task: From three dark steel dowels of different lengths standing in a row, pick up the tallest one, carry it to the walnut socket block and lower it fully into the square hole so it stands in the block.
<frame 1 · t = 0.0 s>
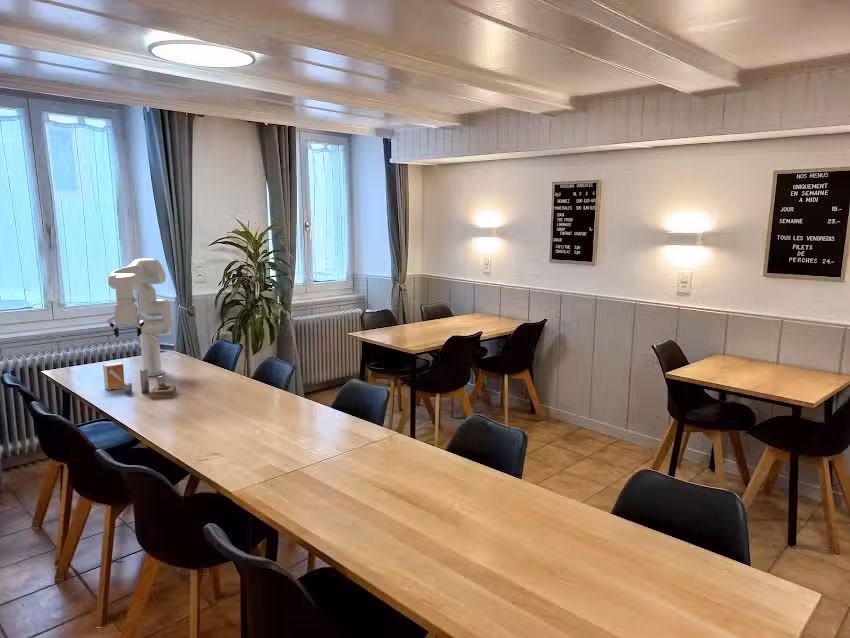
hand: (128, 336, 281), 31 cm above the table, tool pointing down, fingers open, 9 cm apart
medium pin: (162, 391, 298), on the table
short pin: (128, 393, 294), on the table
long pin: (145, 392, 296), on the table
socket block: (164, 395, 291), on the table
small box: (115, 388, 302), on the table
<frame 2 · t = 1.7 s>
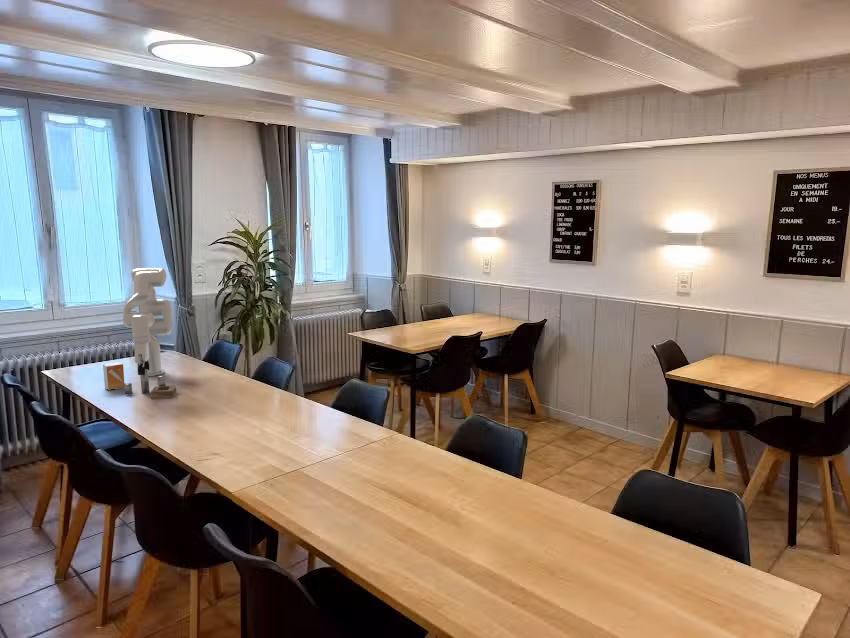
hand: (143, 372, 293), 11 cm above the table, tool pointing down, fingers open, 9 cm apart
nothing on the table moved.
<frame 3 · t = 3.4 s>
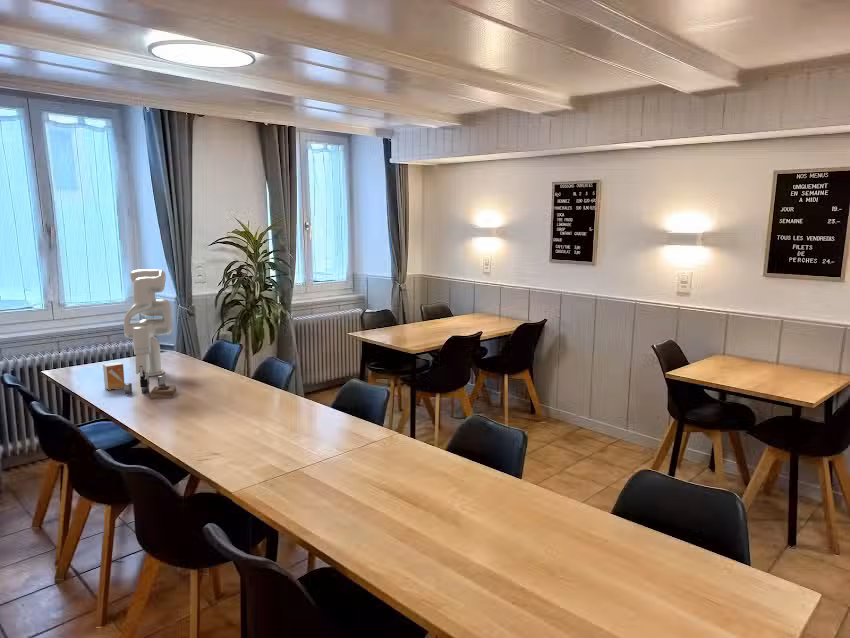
hand: (145, 385, 295), 4 cm above the table, tool pointing down, fingers closed on long pin, 3 cm apart
long pin: (145, 392, 296), on the table, touching gripper
everything else where it was.
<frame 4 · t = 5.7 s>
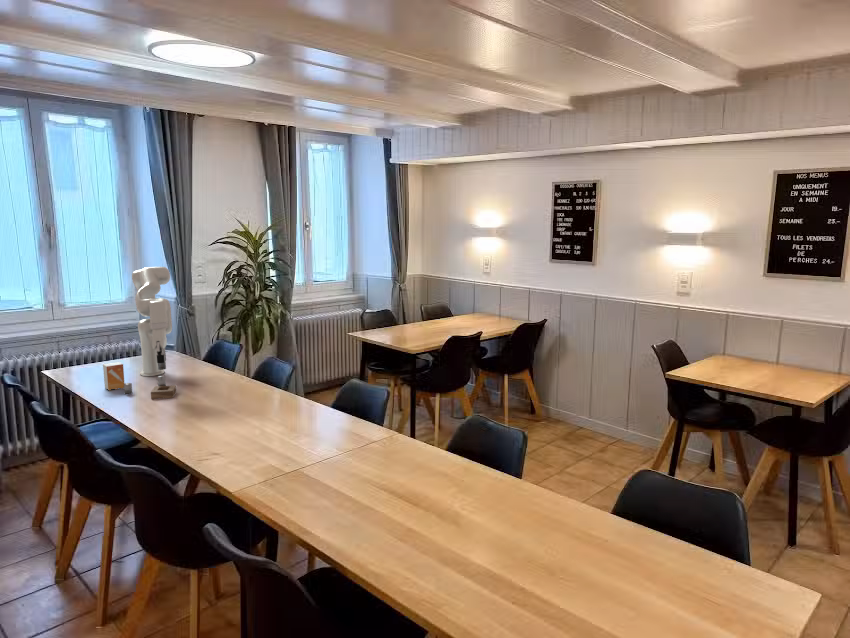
hand: (161, 361, 288), 18 cm above the table, tool pointing down, fingers closed on long pin, 3 cm apart
long pin: (162, 368, 289), point 14 cm above the table, touching gripper
everything else where it was.
when the fingers open (4 cm above the table, at t = 8.3 s): long pin stays where it is, resting in socket block.
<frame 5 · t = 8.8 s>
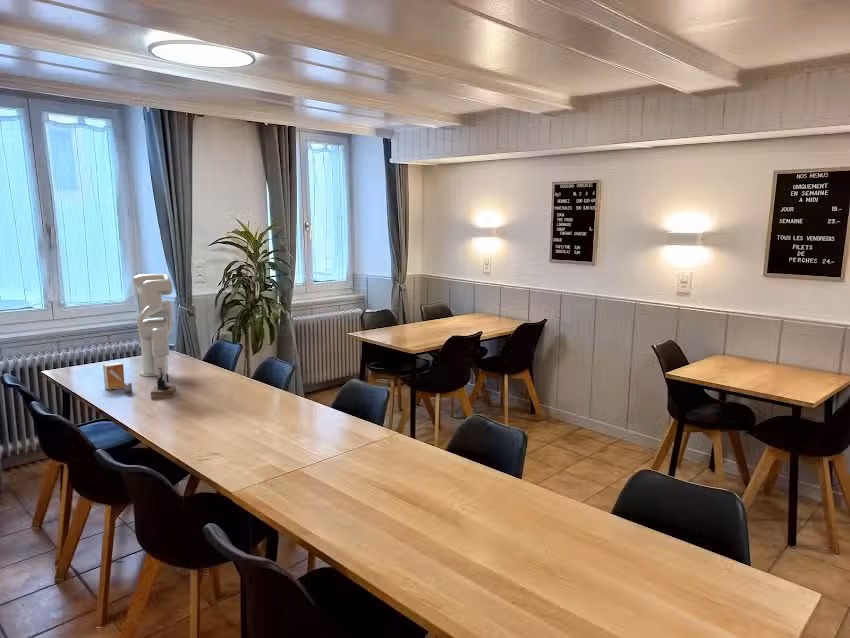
hand: (163, 385, 290), 5 cm above the table, tool pointing down, fingers open, 9 cm apart
medium pin: (162, 391, 297), on the table, tilted 6°
long pin: (163, 395, 291), resting in socket block
everything else where it was.
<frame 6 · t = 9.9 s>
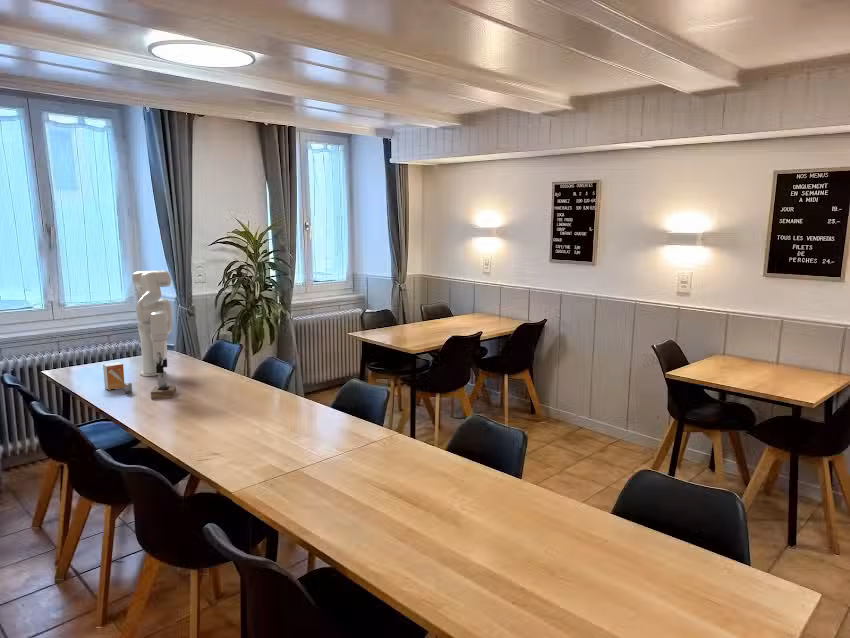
hand: (162, 370, 290), 13 cm above the table, tool pointing down, fingers open, 9 cm apart
nothing on the table moved.
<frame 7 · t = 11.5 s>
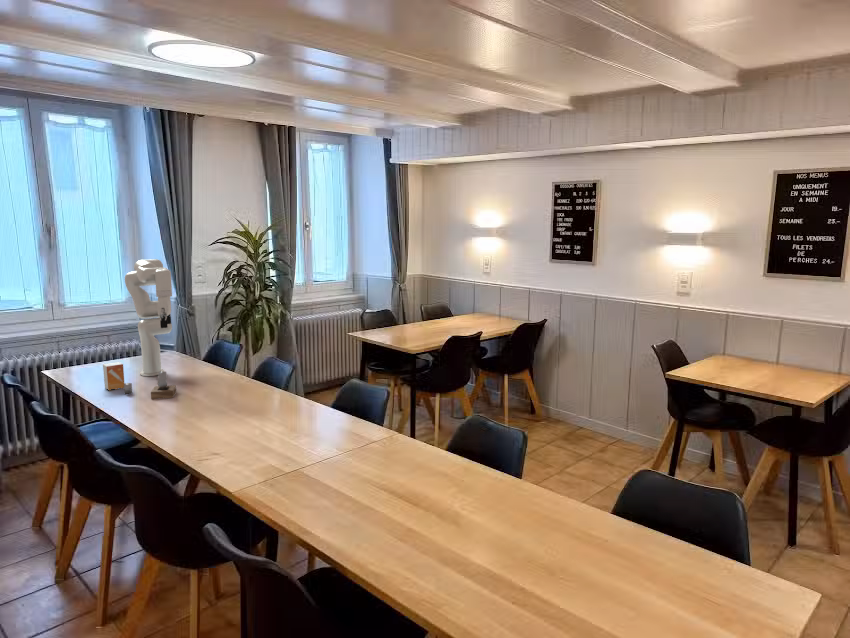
hand: (166, 325, 303), 32 cm above the table, tool pointing down, fingers open, 9 cm apart
nothing on the table moved.
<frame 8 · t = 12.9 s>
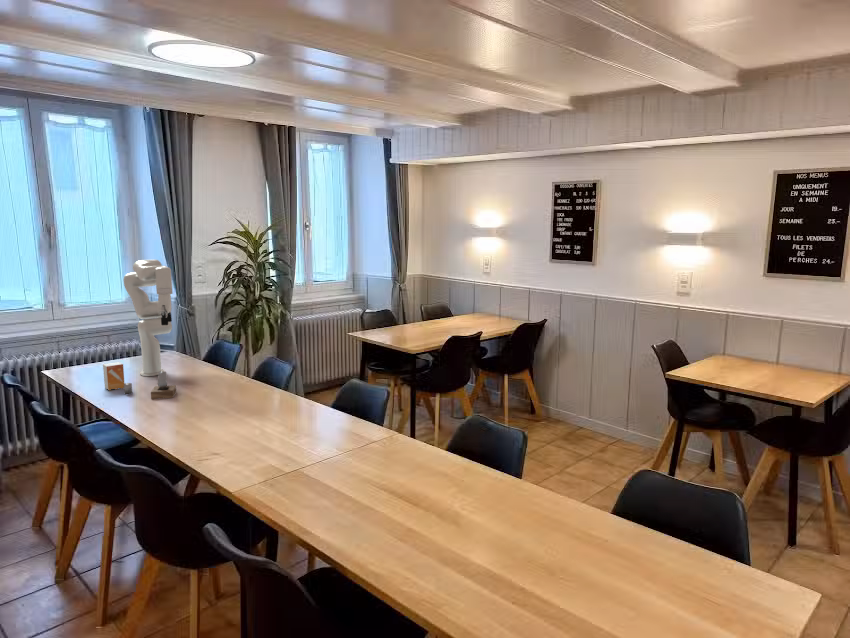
hand: (166, 323, 304), 33 cm above the table, tool pointing down, fingers open, 9 cm apart
nothing on the table moved.
at the end: long pin 0.1 cm off-centre on the socket block, point 0.0 cm above the socket block's base; long pin tilted 0°; the gripper is holding nothing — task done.
